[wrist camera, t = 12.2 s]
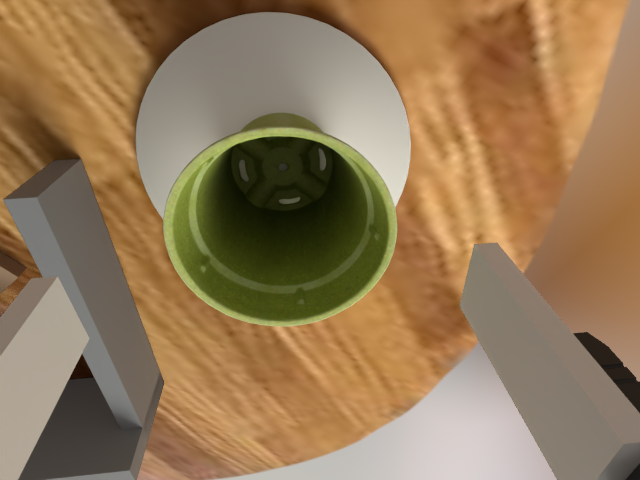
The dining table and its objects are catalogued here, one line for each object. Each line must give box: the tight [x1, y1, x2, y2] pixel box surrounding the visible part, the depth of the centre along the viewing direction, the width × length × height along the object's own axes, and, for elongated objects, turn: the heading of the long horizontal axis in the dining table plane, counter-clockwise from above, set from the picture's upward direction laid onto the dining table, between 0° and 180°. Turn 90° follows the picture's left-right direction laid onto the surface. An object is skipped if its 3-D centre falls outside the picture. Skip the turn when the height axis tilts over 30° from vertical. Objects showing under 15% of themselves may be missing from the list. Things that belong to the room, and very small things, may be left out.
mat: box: [136, 12, 411, 219], centre depth 24 cm, size 16×16×1 cm
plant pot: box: [163, 113, 397, 326], centre depth 20 cm, size 9×9×9 cm
